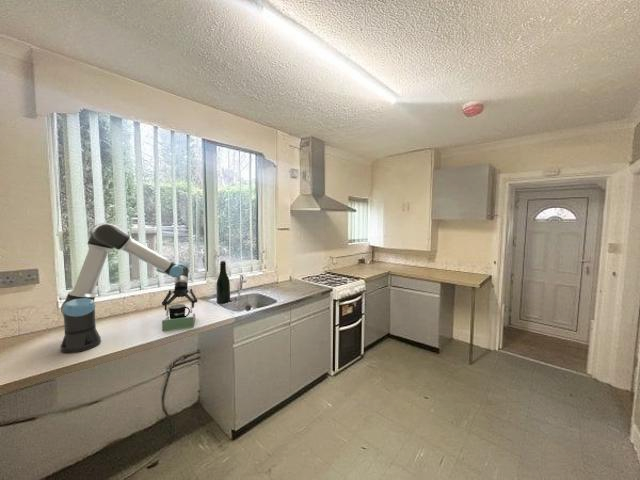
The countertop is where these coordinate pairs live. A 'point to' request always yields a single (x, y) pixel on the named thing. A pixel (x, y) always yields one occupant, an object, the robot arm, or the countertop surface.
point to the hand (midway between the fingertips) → (179, 313)
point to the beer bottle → (223, 285)
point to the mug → (178, 311)
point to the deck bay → (178, 323)
